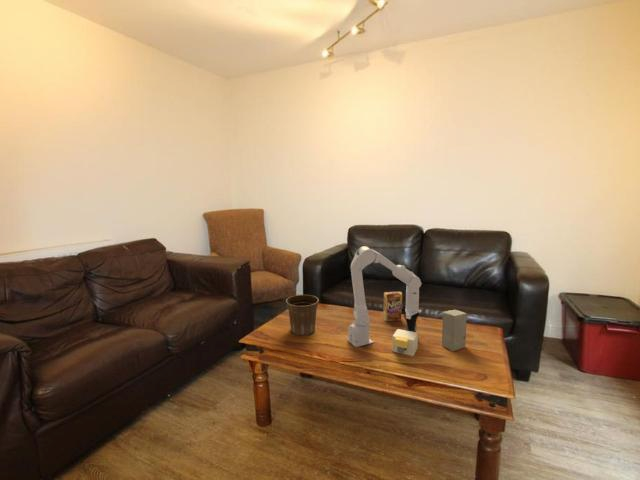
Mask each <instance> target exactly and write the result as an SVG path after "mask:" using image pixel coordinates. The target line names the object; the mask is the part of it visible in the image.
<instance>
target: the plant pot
mask: <svg viewBox="0 0 640 480" xmlns="http://www.w3.org/2000/svg"><path fill="white" fill-rule="evenodd" d="M319 301H320V300H319V298H318V297H317V296H315V295H311V294H297V295H292V296H289V297H288V298H286V299H285V302H286V305H287V311H288V316H289V325H290V331H291V333H292V334H295V335H296V336H308V335H311V334H313V333H314V332H315V331H316V322H317V319H316V318H317V309H318V305H319Z"/></svg>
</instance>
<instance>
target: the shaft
mask: <svg viewBox="0 0 640 480" xmlns="http://www.w3.org/2000/svg"><path fill="white" fill-rule="evenodd" d="M405 327H406V329H405V330H406V331H411V332H416V333H417V327H418V326H417V323H416V324H414V328H413V330H408V326H407V324H406V326H405ZM405 350H406V348H402V347H398V348H397V352H396V353H398V352H399V353H398V354H402V353H404V352H405Z"/></svg>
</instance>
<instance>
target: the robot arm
mask: <svg viewBox="0 0 640 480" xmlns="http://www.w3.org/2000/svg"><path fill="white" fill-rule="evenodd" d="M372 263H374V264H378V263H379V264H381V265H382V266H384V267H386V268H387V269H389V270H390V271H391V272H392V276H394V277H395V278H396V279H398V280H400V281H401V282H403V283H404V284H405V286H406V287H405V288H406V289H405V309H404V311H405V313H404V315H403V317H404V320H405V321H406V325H407V326H408V330H413V328H414V324H417V321H418V318H419V315H420V313H422V310H421V309H419V308H420V307H419V306H420V305H419V303H420V302H419V301H420V288H421V286H422V285H423V283H422V282H421V279H420V277H419V276H417V275H416V274H415V273H414V272H413V271H410V270H409V269H407V268H406V266H405V265H403V264H402V265H401V264H395V263H394V262H393V261H391V260H389V259H388V258H387V257H385V256H384V255H382V254H381V253H380V252H378V251H376V250H375V249H372V248H371V249H370V247H368V246H367V245H366V246H365V245H364V246H360V247H359V248H358V249H357V250H356V251H355V254H354V257H353V258H352V261H351V263H350V267H349V268H350V272H351V273H350V275H351V283H352V284H351V285H352V290H353V292H352V293H353V297H354V304H353V306H354V308H353V311H352V315H353V317H354V320H353V323H352V324H349V325H348V327H347V339H346V340H347V342H349V343H350V344H351V345H353V346H354V347H356V348H357V347H361V346H366V345H370V344H373V343H374V341H373V340H372V339H370V322H371V316H370V315H369V312H368V306H367V304H366V296H365V289H364V287H365V286H364V280H363V279H364V278H363V277H364V276H363V270H364V268H366V267H367V266H369V265H370V264H372Z"/></svg>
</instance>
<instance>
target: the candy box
mask: <svg viewBox="0 0 640 480" xmlns="http://www.w3.org/2000/svg"><path fill="white" fill-rule="evenodd" d="M402 305H403V293H402V291H384V292H383V314H382V315H383V318H382V319H383V320H384V321H385V322H394V321H396V322H397V321H402V313H403V312H402Z"/></svg>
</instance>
